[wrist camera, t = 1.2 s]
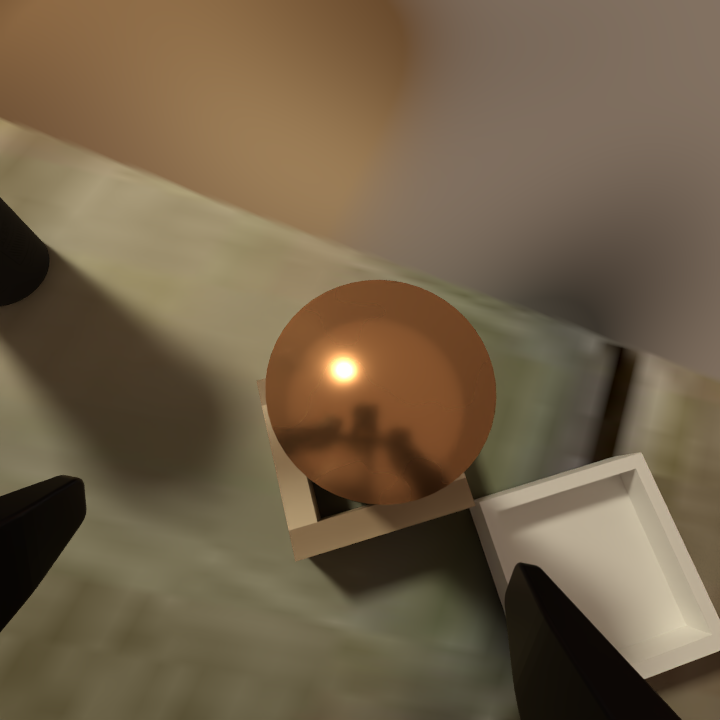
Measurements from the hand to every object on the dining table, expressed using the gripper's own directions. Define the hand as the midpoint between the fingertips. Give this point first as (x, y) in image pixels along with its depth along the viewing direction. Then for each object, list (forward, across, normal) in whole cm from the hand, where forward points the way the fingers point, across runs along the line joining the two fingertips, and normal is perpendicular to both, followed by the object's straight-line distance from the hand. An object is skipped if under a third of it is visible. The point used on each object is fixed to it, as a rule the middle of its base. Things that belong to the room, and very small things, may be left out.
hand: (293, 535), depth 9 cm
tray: (+10, -12, +8) cm, 18 cm away
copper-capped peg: (+12, -1, +5) cm, 13 cm away
